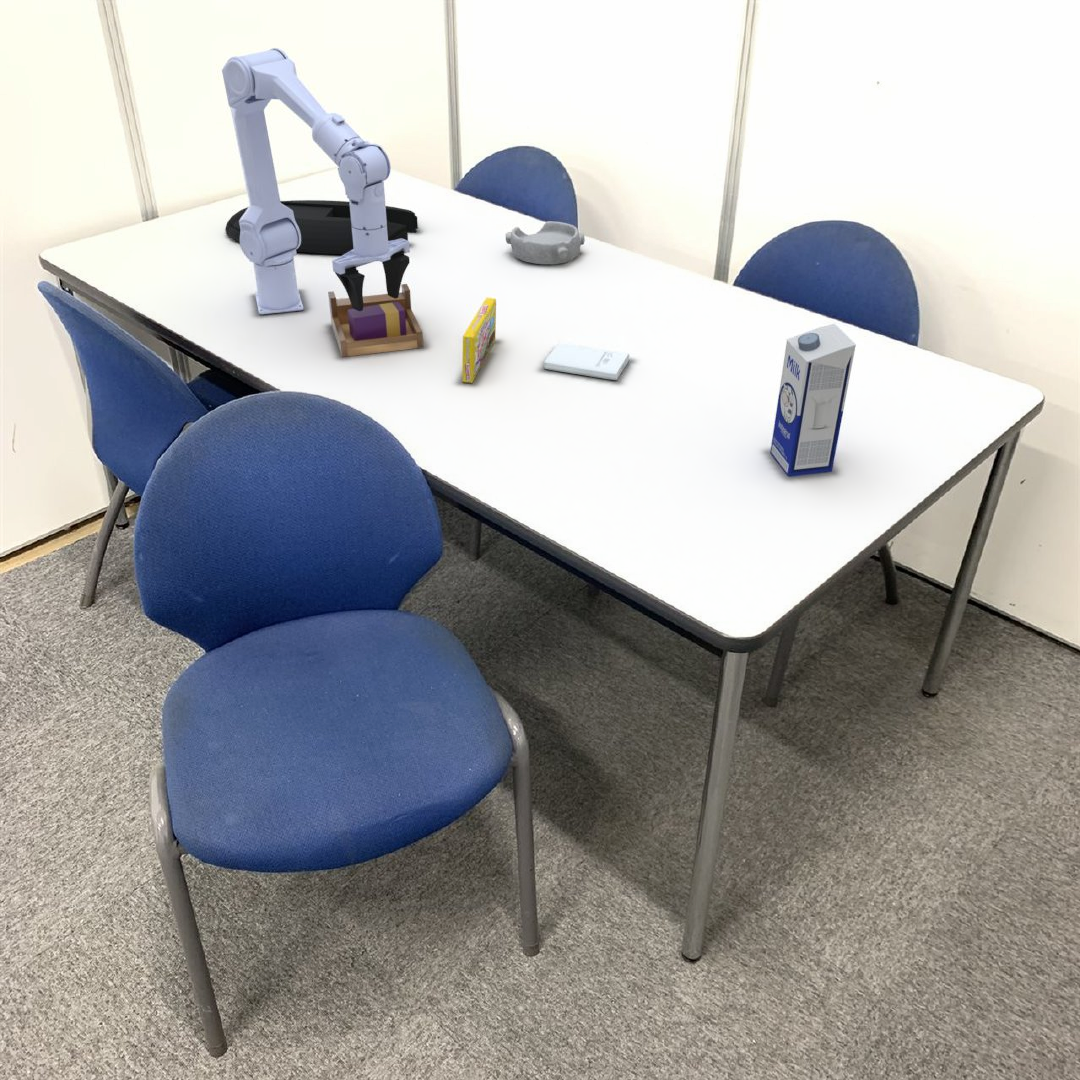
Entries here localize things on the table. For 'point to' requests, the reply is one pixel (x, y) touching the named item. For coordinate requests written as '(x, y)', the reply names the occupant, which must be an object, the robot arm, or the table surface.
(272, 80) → the robot arm
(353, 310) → the chocolate bar
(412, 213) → the docking station
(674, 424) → the table surface
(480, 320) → the candy box
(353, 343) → the tray
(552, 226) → the dish
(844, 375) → the milk carton
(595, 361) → the hard drive
